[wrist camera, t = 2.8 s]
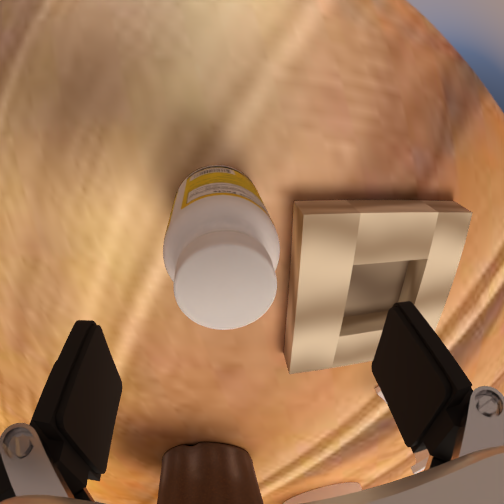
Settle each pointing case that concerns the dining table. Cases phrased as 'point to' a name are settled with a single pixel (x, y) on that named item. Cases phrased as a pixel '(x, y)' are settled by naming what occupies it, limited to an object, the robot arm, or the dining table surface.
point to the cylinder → (325, 493)
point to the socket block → (365, 273)
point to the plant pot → (208, 476)
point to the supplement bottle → (221, 249)
